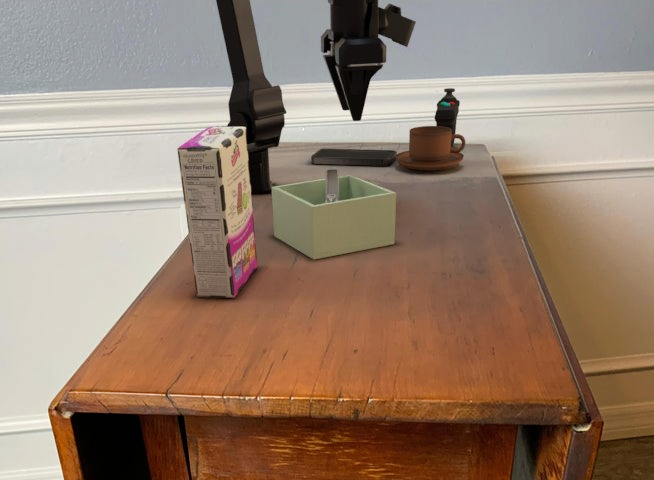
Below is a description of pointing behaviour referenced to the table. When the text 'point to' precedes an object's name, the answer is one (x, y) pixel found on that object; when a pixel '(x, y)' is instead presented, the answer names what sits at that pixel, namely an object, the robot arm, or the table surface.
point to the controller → (447, 111)
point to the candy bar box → (219, 210)
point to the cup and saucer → (431, 149)
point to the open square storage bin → (334, 217)
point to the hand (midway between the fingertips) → (351, 115)
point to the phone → (354, 157)
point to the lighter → (332, 184)
